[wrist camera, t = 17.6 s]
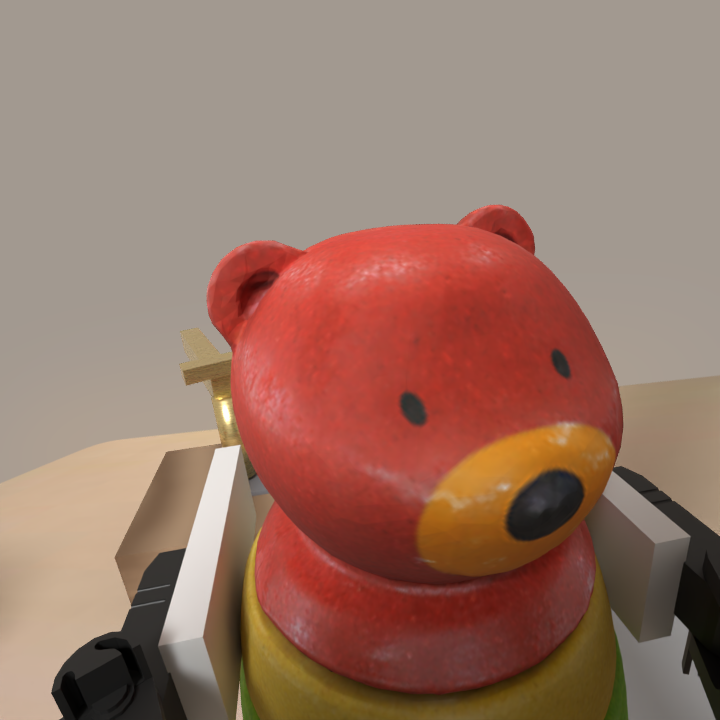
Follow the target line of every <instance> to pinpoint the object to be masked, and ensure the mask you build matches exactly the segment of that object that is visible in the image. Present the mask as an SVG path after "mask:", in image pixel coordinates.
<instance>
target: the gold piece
mask: <svg viewBox="0 0 720 720" xmlns="http://www.w3.org/2000/svg"><path fill="white" fill-rule="evenodd" d="M180 333H181V337H182V342H183V346H184V350H185V353H186V354H187V356H188V358H189V359H190V362H185V363H181V364H179V365H180V369H181V374H182V377H183V380H184V382H185V384H186V385H190V384H194V383H198V382H202V381H203V383H204V384H205V386H206V388H207V389H208V391H209V393H210V394H211V396H212V398H211V399H212V404H213V408H214V413H215V417H216V422H217V426H218V431H219V435H220V440H221V444H222V448H224V447H230V446H236V445H241V450H242V454H243V459H244V463H245V468H246V472H247V476H248V478H250V477H252V476H253V475H254V474H255V473H256V471H255V469H254V467H253V465H252V463H251V461H250V459H249V457H248V455H247V452H246V450H245V447H244V444H243V442H242V439H241V436H240V433H239V430H238V426H237V422H236V418H235V414H234V410H233V404H232V395H231V361H232V352H228V353H224V354H220V353H219V352H218V351H217V349H216V348H215V347H214V346H213V345H212V344H211V342H210V341H209V340H208V339H207V338H206V337H205V335H204V334H203V333H202V332H201V331H200V330H199V328H194V329H189V330H184V331H180Z"/></svg>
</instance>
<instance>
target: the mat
mask: <svg viewBox="0 0 720 720" xmlns="http://www.w3.org/2000/svg"><path fill="white" fill-rule="evenodd" d="M611 612H612V619H613V625H614V630H615V632H616V635H617V639H618V643H619V647H620V651H621V656H622V662H623V669H624V676H625V682H626V692H627V707H628V720H716V719H715V717H714V714H713V711H712V709H711V706H710V704H709V701H708V698H707V696H706V693H705V691H704V688H703V685H702V683H701V680H700V678H699V677H698V675H697V674H698V672H697V670H696V667H695V665H694V662H693V660H692V663H691V668H690V672H689V675H688V674H683V671H682V659H683V655H684V650H685V645H686V641H687V636H688V632H689V630H688V628H687V627H686V626H685V625H684V624H683V623H682V622H681V621H680V620H679V619H678V618H677V617H676V616H675V617H674V622H673V627H672V632H671V636H668V637H663V638H659V639H654V640H650V641H646V642H641V643H638V641H637V640H636V639H635V638H634V636H633V635H632V634H631V633H630V631H629V630H628V629H627V627H626V626H625V625H624V624H623V622H622V621H621V620H620V619H619V617H618V616H617V615H616V614H615V612H614V611H613V610H612V608H611Z"/></svg>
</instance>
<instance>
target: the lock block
mask: <svg viewBox="0 0 720 720" xmlns="http://www.w3.org/2000/svg"><path fill="white" fill-rule="evenodd" d="M218 448H222V444H216V445H209V446H203V447H196V448H189V449H183V450H176V451H169V452H166V454H165V456H164V458H163V460H162V462H161V464H160V466H159V468H158V470H157V472H156V474H155V476H154V478H153V480H152V483H151V485H150V487H149V489H148V491H147V493H146V495H145V497H144V499H143V501H142V503H141V505H140V507H139V509H138V511H137V513H136V515H135V517H134V519H133V521H132V523H131V525H130V527H129V529H128V531H127V533H126V535H125V537H124V539H123V541H122V544H121V546H120V548H119V550H118V552H117V554H116V556H115V560H116V562H117V565H118V568H119V571H120V574H121V577H122V580H123V582H124V585H125V588H126V591H127V594H128V597H129V599H130V602H131V604H132V602H133V599H134V597H135V594H136V593H137V589H138V586H139V584H140V581H141V579H142V576H143V573H144V571H145V570H146V568H147V567H148V566H149V565H150V564H151V562H152V561H153V560H154V559H155V558H156V556H157V555H158V554H159V553H162V552H167V551H173V550H178V549H183V548H187V545H188V542H189V538H190V535H191V531H192V528H193V524H194V521H195V518H196V514H197V511H198V507H199V504H200V501H201V497H202V494H203V490H204V487H205V483H206V480H207V477H208V473H209V470H210V466H211V463H212V459H213V456H214V453H215V449H218ZM248 481H249V485H250V490H251V494H252V499H253V503H254V508H255V512H256V524H255V534H254V541H255V538H256V536H257V534H258V532H259V531H260V529H261V527H262V525H263V523H264V521H265V518H266V516H267V514H268V512H269V510H270V508H271V506H272V504H273V503H274V501H275V500H274V499H273V497H272V496H271V495H270V493H269V492H268V491H267V489H266V488H265V487H264V485H263V484H262V482H261V480H260V479H259V477H258V475H257V473H255V474H254V475H253V476H252V477H250V478H248Z"/></svg>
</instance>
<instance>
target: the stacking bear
mask: <svg viewBox="0 0 720 720" xmlns="http://www.w3.org/2000/svg"><path fill="white" fill-rule="evenodd" d="M534 253H535V244H534V236H533V233H532V231H531V229H530V227H529V226H528V224H527V223H526V221H525V220H524V218H523V217H522V216H520V214H518V212H517V211H515V210H513V209H511V208H509V207H506V206H503V205H489V206H485V207H482V208H479V209H477V210H475V211H473V212H471V213H469V214H468V215H467V216H465V217H464V218H463V219H461V220H460V222H459V223H458V224H457V225H453V224H419V225H417V224H416V225H397V226H387V227H380V228H372V229H366V230H361V231H356V232H350V233H345V234H341V235H338V236H335V237H331V238H329V239H326V240H324V241H322V242H320V243H317V244H315V245H313V246H311V247H309V248H307V249H306V250H304V251H302V250H298V249H295V248H292V247H290V246H287V245H284V244H282V243H279V242H276V241H254V242H250V243H246V244H244V245H241V246H239V247H237V248H235V249H234V250H232V251H231V252H230V253H228V254H227V255H226V256H225V257H224V258H223V259H222V260H221V261H220V262H219V264H218V265H217V267H216V269H215V270H214V272H213V273H212V276H211V279H210V282H209V284H208V287H207V306H208V313H209V317H210V319H211V321H212V324H213V325H214V326H215V327H216V329H217V330H218V331H219V332H220V333H221V334H222V336H223V337H224V338H225V340H226V341H227V342H228V344H229V345H230V346H231V349H232V361H231V395H232V404H233V410H234V414H235V418H236V422H237V426H238V430H239V433H240V436H241V439H242V442H243V444H244V447H245V450H246V452H247V455H248V457H249V459H250V461H251V463H252V465H253V467H254V469H255V471H256V473H257V475H258V477H259V479H260V480H261V482H262V484H263V485H264V487H265V488H266V489H267V491H268V492H269V493H270V495H271V496H272V497H273V499H274V500H275V501H274V503H273V504H272V506H271V508H270V510H269V512H268V514H267V516H266V518H265V521H264V523H263V525H262V527H261V529H260V531H259V532H258V534H257V536H256V538H255V541H254V543H253V545H252V548H251V550H250V553H249V556H248V559H247V563H246V567H245V573H244V580H243V587H242V601H241V629H240V634H241V653H242V661H241V671H240V691H241V706H242V713H243V720H628V707H627V692H626V682H625V676H624V669H623V662H622V656H621V651H620V647H619V643H618V639H617V635H616V632H615V630H614V625H613V619H612V612H611V607H610V603H609V598H608V594H607V590H606V586H605V583H604V579H603V575H602V572H601V568H600V565H599V563H598V560H597V557H596V554H595V551H594V547H593V542H592V538H591V535H590V532H589V530H588V527H587V525H586V522H585V520H584V518H585V517H586V516H587V515H588V513H589V512H590V511H591V510H592V509H593V507H594V506H595V504H596V503H597V501H598V500H599V498H600V497H601V495H602V493H603V492H604V490H605V487H606V485H607V483H608V480H609V478H610V475H611V473H612V470H613V468H614V465H615V462H616V459H617V456H618V453H619V450H620V448H621V440H622V433H623V412H622V404H621V398H620V393H619V388H618V383H617V380H616V379H615V375H614V373H613V371H612V368H611V366H610V363H609V361H608V359H607V357H606V355H605V352H604V350H603V348H602V346H601V344H600V342H599V340H598V338H597V336H596V334H595V332H594V330H593V329H592V327H591V325H590V323H589V321H588V319H587V318H586V316H585V315H584V313H583V312H582V310H581V309H580V307H579V305H578V304H577V302H576V301H575V300H574V298H573V297H572V296H571V294H570V293H569V291H568V290H567V289H566V288H565V286H564V285H563V284H562V283H561V282H560V281H559V279H558V278H557V277H556V276H555V275H554V274H553V273H552V271H551V270H550V269H549V268H547V267H546V266H545V265H544V264H543V263H542V262H541V261H540V260H539V259H538V258H536V257H535V256H534Z"/></svg>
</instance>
